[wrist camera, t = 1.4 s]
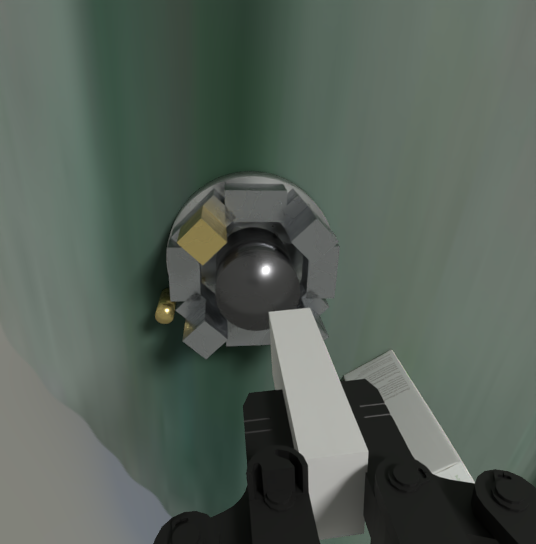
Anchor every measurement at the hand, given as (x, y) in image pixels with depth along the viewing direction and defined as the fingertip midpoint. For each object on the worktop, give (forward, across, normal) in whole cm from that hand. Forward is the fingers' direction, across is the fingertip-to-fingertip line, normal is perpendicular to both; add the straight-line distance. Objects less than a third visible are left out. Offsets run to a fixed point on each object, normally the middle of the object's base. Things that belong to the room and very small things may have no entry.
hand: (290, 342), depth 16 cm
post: (+24, -8, -10) cm, 27 cm away
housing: (+24, 0, -6) cm, 25 cm away
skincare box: (+25, +13, -23) cm, 36 cm away
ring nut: (+21, 0, -6) cm, 22 cm away
